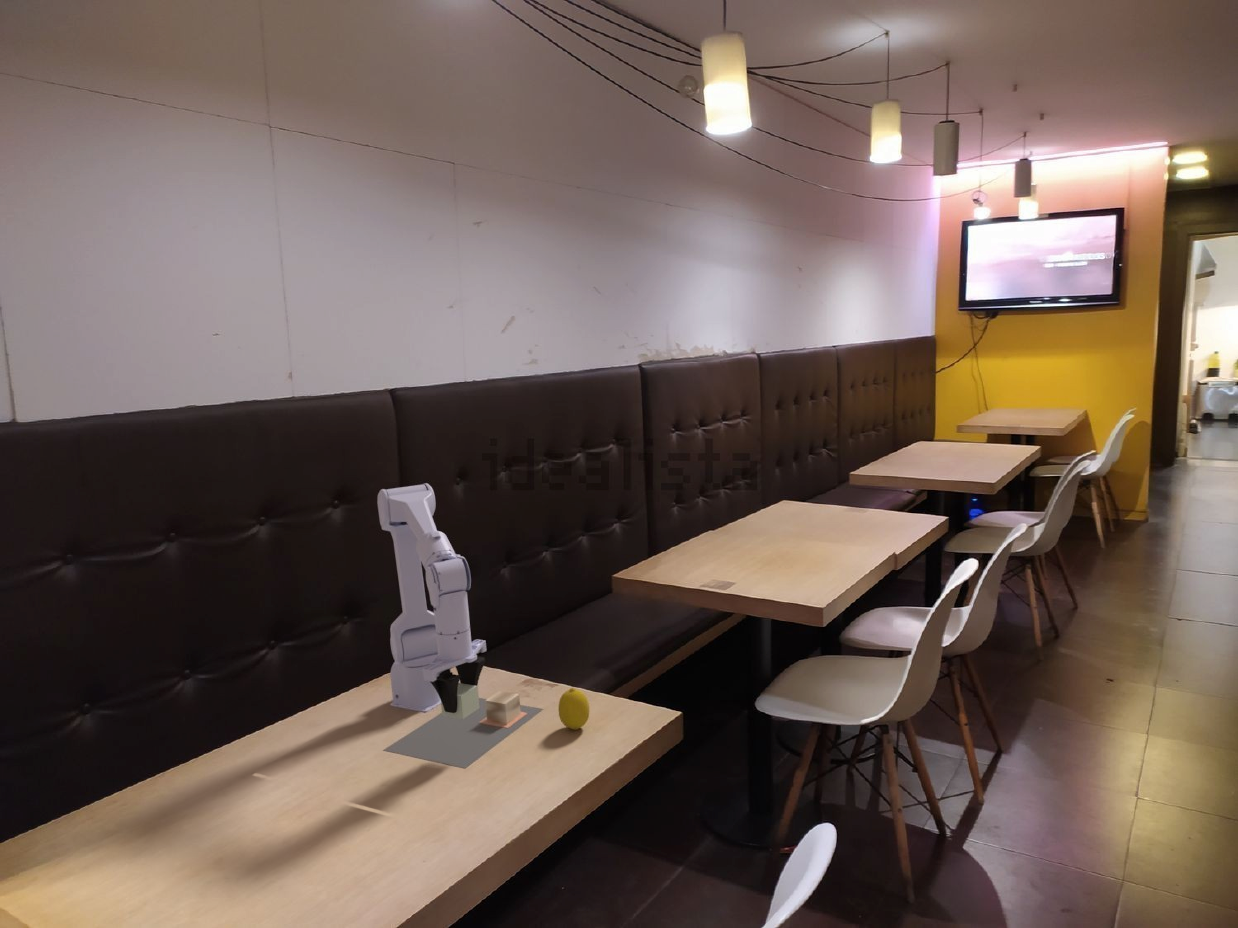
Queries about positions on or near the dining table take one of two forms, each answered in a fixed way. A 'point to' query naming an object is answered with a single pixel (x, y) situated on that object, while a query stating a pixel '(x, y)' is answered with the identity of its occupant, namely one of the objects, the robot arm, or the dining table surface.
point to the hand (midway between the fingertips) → (460, 705)
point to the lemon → (573, 709)
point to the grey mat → (459, 737)
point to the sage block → (465, 701)
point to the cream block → (503, 707)
